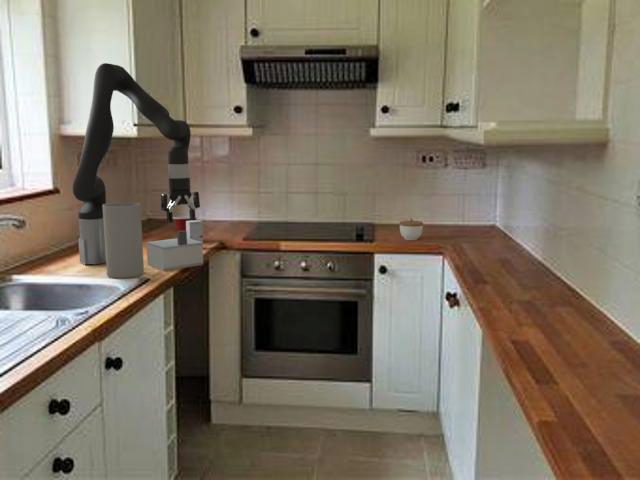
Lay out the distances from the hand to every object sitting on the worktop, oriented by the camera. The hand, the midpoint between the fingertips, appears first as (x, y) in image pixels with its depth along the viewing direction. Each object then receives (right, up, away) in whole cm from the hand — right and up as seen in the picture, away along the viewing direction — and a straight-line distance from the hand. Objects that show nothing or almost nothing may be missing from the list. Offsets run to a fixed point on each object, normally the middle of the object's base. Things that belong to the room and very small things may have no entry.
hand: (181, 221), depth 235 cm
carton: (-4, -16, +8) cm, 19 cm away
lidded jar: (+92, -7, +61) cm, 111 cm away
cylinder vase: (-18, -19, -8) cm, 28 cm away
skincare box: (-3, -11, +39) cm, 41 cm away
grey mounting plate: (-4, -8, +6) cm, 11 cm away
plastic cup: (-10, -8, +54) cm, 56 cm away
